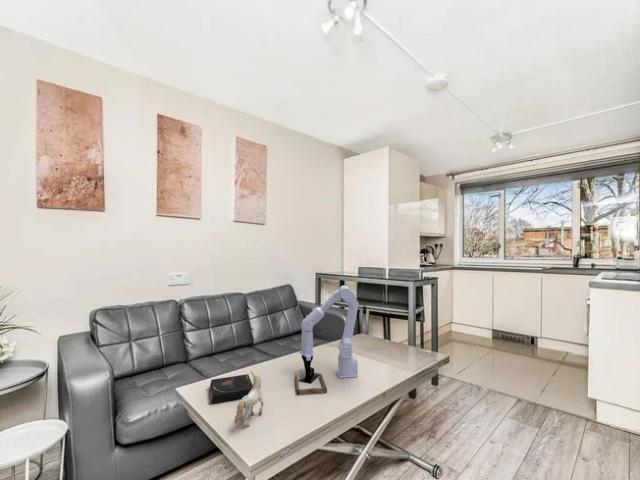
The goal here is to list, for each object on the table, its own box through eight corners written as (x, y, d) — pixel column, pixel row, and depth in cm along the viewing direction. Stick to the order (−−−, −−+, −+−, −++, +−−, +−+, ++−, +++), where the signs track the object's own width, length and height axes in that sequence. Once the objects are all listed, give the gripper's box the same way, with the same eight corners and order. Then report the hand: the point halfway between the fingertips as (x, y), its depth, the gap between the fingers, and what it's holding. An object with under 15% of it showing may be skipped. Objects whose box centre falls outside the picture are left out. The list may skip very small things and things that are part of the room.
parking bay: (321, 377, 146) (321, 373, 146) (326, 393, 130) (326, 388, 130) (294, 379, 144) (294, 375, 144) (297, 395, 128) (297, 390, 128)
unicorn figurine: (267, 404, 120) (267, 370, 121) (253, 433, 101) (254, 393, 101) (250, 403, 121) (250, 370, 121) (233, 432, 101) (233, 392, 102)
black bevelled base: (310, 384, 139) (310, 374, 139) (297, 382, 142) (297, 372, 142) (321, 374, 150) (321, 365, 150) (308, 372, 153) (308, 363, 153)
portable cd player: (209, 388, 135) (209, 379, 135) (248, 382, 142) (248, 374, 142) (211, 406, 120) (211, 395, 120) (253, 398, 126) (253, 388, 126)
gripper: (298, 339, 157) (298, 365, 156) (300, 347, 142) (300, 376, 142) (311, 338, 158) (311, 364, 157) (315, 346, 143) (315, 375, 143)
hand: (307, 370), depth 150 cm, fingers closed
